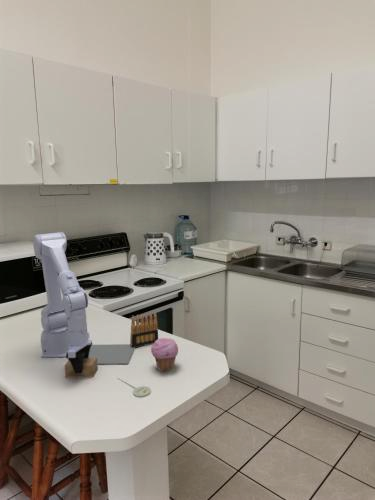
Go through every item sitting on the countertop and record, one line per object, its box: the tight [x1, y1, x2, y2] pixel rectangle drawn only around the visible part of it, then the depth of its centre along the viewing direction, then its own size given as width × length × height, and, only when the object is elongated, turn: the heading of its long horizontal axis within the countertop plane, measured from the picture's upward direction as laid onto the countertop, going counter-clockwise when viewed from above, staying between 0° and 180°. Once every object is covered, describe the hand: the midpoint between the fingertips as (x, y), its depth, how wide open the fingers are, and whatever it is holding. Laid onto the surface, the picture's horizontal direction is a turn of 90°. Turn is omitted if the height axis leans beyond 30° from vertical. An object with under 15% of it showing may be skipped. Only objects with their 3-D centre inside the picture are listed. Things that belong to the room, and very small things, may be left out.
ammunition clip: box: [129, 311, 159, 348], centre depth 140 cm, size 11×2×12 cm, turn 119°
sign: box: [116, 377, 152, 398], centre depth 113 cm, size 5×1×15 cm
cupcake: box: [150, 337, 179, 372], centre depth 122 cm, size 9×9×10 cm
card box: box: [64, 358, 99, 378], centre depth 121 cm, size 9×5×4 cm, turn 87°
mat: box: [89, 343, 136, 366], centre depth 134 cm, size 20×15×1 cm
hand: (81, 368), depth 121 cm, fingers closed on card box, 5 cm apart
